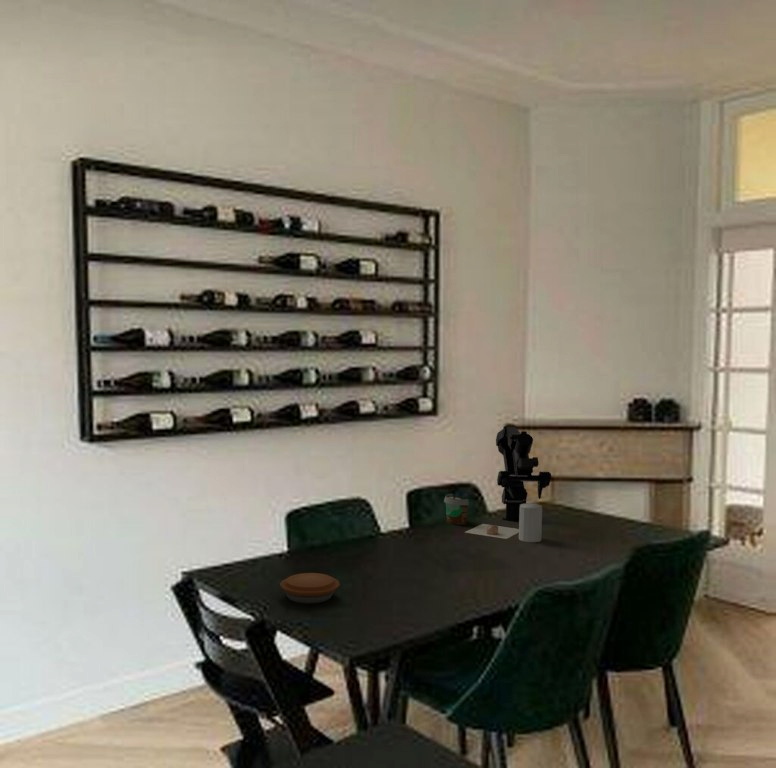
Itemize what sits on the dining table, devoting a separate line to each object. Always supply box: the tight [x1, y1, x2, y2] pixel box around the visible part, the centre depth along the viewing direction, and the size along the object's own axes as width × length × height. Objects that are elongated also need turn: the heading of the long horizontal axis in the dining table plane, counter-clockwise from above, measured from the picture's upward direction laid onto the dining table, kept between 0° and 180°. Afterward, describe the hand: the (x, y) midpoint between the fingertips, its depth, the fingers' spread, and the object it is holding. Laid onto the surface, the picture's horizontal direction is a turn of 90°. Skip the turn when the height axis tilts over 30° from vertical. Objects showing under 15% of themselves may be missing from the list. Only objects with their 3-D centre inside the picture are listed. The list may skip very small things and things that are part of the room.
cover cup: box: [518, 502, 543, 543], centre depth 266 cm, size 7×7×12 cm
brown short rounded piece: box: [487, 524, 499, 535], centre depth 273 cm, size 4×4×3 cm
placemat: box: [464, 523, 519, 540], centre depth 277 cm, size 16×16×1 cm
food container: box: [443, 493, 470, 526], centre depth 289 cm, size 12×6×10 cm, turn 25°
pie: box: [279, 572, 341, 605], centre depth 203 cm, size 15×16×5 cm
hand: (526, 498), depth 273 cm, fingers open, 9 cm apart
